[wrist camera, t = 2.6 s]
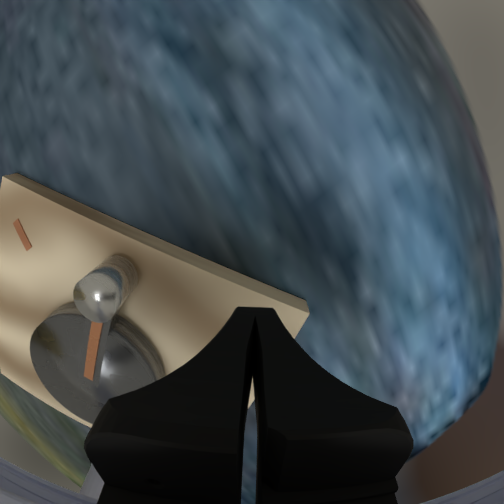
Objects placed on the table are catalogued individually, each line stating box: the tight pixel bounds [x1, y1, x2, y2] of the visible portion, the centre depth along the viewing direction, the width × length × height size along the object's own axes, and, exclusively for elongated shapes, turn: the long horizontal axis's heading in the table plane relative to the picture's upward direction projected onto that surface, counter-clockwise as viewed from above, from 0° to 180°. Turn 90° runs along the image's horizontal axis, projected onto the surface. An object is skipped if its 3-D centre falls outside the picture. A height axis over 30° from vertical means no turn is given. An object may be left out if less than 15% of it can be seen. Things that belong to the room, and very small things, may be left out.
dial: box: [30, 255, 165, 424], centre depth 15 cm, size 13×9×3 cm
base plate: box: [0, 173, 310, 428], centre depth 18 cm, size 18×20×2 cm
